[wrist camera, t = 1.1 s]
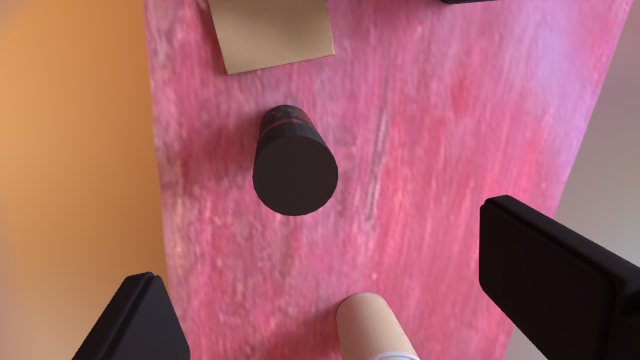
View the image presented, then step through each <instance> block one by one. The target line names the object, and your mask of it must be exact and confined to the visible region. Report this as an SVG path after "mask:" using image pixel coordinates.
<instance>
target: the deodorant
mask: <svg viewBox="0 0 640 360" xmlns="http://www.w3.org/2000/svg"><path fill="white" fill-rule="evenodd" d="M252 178H253V185H254V189H255V191H256V193H257V195H258V198H259V199H260V200H261V201H262V202H263V203H264V204H265V206H267V207H268V208H270V209H271V210H273V211H274V212H277V213H280V214H283V215H288V216H300V215H306V214H309V213H312V212H314V211H316V210H318V209H319V208H321V207H322V206H324V205H325V204H326V203H327V201H328V200H329V199H330V198H331V197H332V195H333V193H334V191H335V189H336V186H337V181H338V167H337V164H336V161H335V158H334V156H333V155H332V153H331V152H330V150H329V148H328V147H327V145H326V144H325V142H324V141H323V139H322V138H321V136H320V134H319V133H318V131H317V130H316V128H315V127H314V125H313V123H312V122H311V120H310V119H309V117H308V116H307V114H306V113H305V112H303V111H302V110H301V109H299V108H297V107H295V106H290V105H280V106H277V107H275V108H272V109H271V110H270V111H268V112H267V113H266V114H265V116H264V117H263V118H262V121H261V123H260V128H259V134H258V141H257V148H256V155H255V161H254V168H253V176H252Z"/></svg>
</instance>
